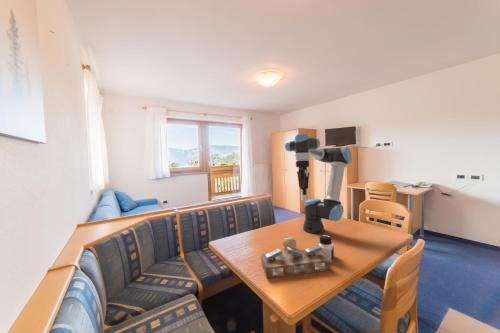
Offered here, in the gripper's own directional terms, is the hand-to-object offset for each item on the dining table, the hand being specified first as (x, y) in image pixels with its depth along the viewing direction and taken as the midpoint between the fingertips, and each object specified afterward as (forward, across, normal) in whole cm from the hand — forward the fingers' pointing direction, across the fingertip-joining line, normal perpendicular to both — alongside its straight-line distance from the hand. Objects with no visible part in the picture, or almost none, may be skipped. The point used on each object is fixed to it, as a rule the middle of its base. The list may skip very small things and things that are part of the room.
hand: (303, 199), depth 117 cm
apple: (+30, -3, -9) cm, 32 cm away
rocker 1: (+22, +16, -24) cm, 36 cm away
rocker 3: (+23, +16, -2) cm, 28 cm away
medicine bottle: (+31, +11, +7) cm, 33 cm away
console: (+30, +16, -13) cm, 37 cm away
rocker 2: (+23, +16, -13) cm, 31 cm away
